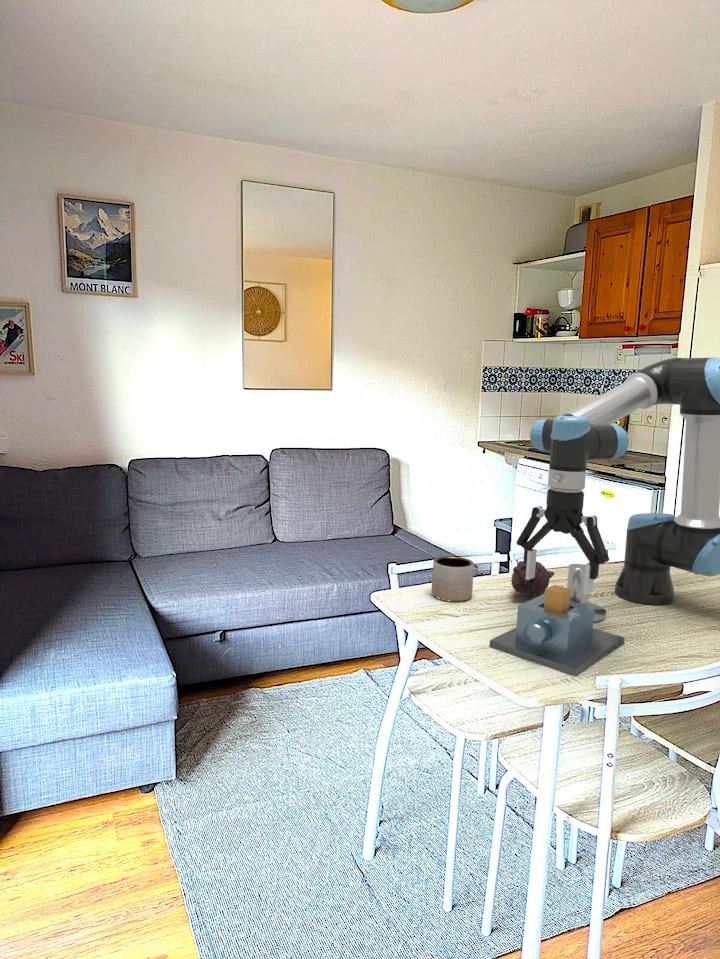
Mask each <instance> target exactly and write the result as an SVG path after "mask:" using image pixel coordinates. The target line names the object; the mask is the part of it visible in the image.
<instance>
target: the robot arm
mask: <svg viewBox="0 0 720 959" xmlns="http://www.w3.org/2000/svg"><path fill="white" fill-rule="evenodd" d="M665 404H666V405H679V415H680V416H681V417H682V418H683V419H684V420H685V434H684V436H685V437H684V450H683V452H684V453H683V469H682V487H681V489H682V490H681V508H680V514H678V515H674V514H671V513H661V512H656V513H655V512H651V513H650V512H646V513H644V512H643V513H635V514H633V515H631V516H630V517H629V518H628V523H627V527H626V538H625V539H626V540H625V550H624V551H625V552H624V560H623V563H624V564H623V567H622V570H621V572H620V573H619V576H618V578H617V580H616V582H615V585H614V593H615V595H617V597H619V598H621V599H624V600H627V601H630V602H634V603H637V604H644V605H653V606H654V605H655V606H662V605H670V604H671V603H674V601H675V594H676V593H675V588H674V584H673V581H672V576H671V567H672V568H675V569H679V570H682V571H684V572H685V571H686V572H689V573H691V574H695V575H697V576H698V575H700V576H706V577H715V576H718V575H719V574H720V357H715V356H714V357H672V358H667V359H664V360H660V361H657V362H655V363H652V364H650V365H647V366H645V367H643V368H641V369H638V370H637V371H635V372H633V373H631V374H629V375H628V376H627V377H626V378H625V380H624V382H623V383H621V384H619V385H617V386H615V387H614V388H611V389H610V390H608V391H606V392H604V393H602V394H601V395H598V396H597V397H594V398H592V399H591V400H589V401H587V402H585V403H584V404H582V405H579V406H578V407H576V408H574V409H572V410H569V411H568V412H566V413H565V414H564V413H563V415H558V416H556V417H554V418H553V419H550V418H546V419H545V418H543V419H538V420H537V421H535V422H534V424H532V427H531V429H530V432H529V438H530V443H531V445H532V446H533V447H534V449H536V450H539V451H543V452H546V453H549V455H550V456H549V466H548V467H549V468H548V478H547V487H549V489H547V490H546V493H547V494H546V508H544V507H543V506H542V505H538V506H535V507H533V508H532V509H531V514H530V518H529V519H528V521H527V523H526V525H525V527H524V528H523V530H522V532H521V534H520V535H519V536H518V539H517V540H516V545H517V546H520V547H522V548H523V550H524V552H523V561H524V563H526V564H527V566H526V579H527V580H530V579H532V578H535V566H536V561H537V550H538V549H535V546H537V545H538V543H540V541H542V539H544V538H545V537H546V536H547V535H548V534H549V533H550V532H551V531H553V532H555V533H558V532H560V533H563V534H566V535H568V534H570V536H571V537H572V538H574V540H575V541H576V543H577V545H578V546H579V548H580V549H581V550H582V553H583V554H584V556H585V558H586V559H587V560H588V563H585V565H586V571H585V583H584V594H585V595H588V594H589V595H590V594H592V593H593V591H594V581H595V580H596V579H598V577H599V572H600V571H599V570H600V565H602V564H606V563H607V562H609V560H610V557H609V555H608V552H607V549H606V546H605V544H604V541H603V538H602V535H601V533H600V530H599V527H598V517H597V516H596V515H591V516H589V515H587V516H585V515H584V514H583V508H584V498H585V492H584V491H583V490H584V489H585V488H586V474H587V473H586V472H587V471H586V470H587V464H588V463H587V462H588V461H599V460H607V461H610V460H614V459H617V458H618V459H619V458H620V457H622V456H624V455H625V453H626V452H627V451H628V447H629V442H630V441H629V440H630V439H629V438H630V437H629V435H628V433H627V431H626V430H625V429H624V428H623V427H622V426H619V425H616V424H614V423H616V422H618V421H620V420H622V419H624V418H625V417H627V416H629V415H630V414H632V413H634V412H636V411H637V410H639V409H641V410H642V409H645V410H646V409H650V408H651V407H653V406H657V405H665ZM543 517H545V519H546V521H547V522H545V523H544V525H542V526H541V528H540V529H539V530H538V531H536V533H535V534H534V535H533V536H532V534H533V533H534V530H535V529H536V527H537V525H538V524H539V522H540V520H541V518H543ZM582 523H583V524H584V526H585V527H586V530H587V533H588V536H589V539H590V540H589V539H588V538H587V536H586V534H585V532H584V529H583V528H582V526H581V524H582ZM531 536H532V537H531ZM530 537H531V538H530ZM590 541H591V542H590Z"/></svg>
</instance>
